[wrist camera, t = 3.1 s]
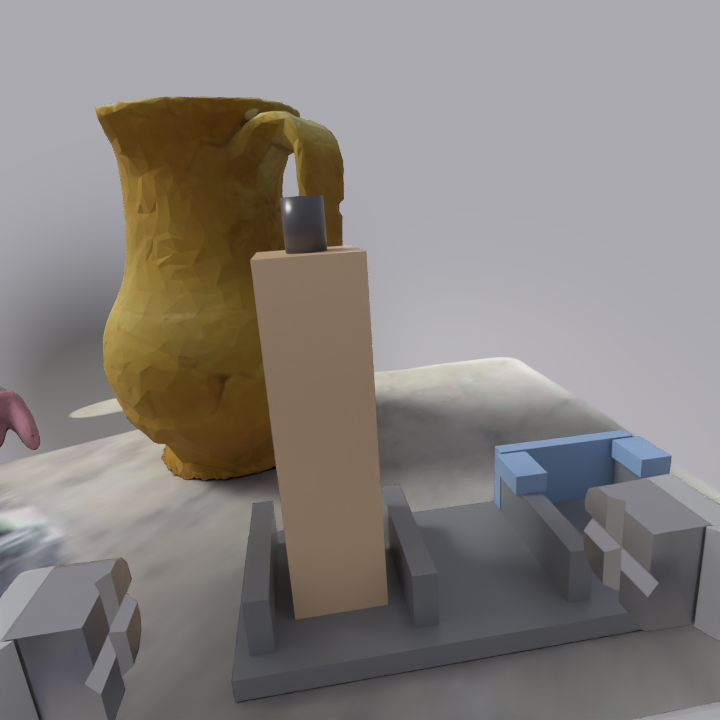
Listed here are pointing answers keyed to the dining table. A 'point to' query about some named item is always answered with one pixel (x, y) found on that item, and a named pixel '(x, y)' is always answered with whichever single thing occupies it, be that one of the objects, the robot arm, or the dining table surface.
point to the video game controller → (17, 419)
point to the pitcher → (204, 268)
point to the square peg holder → (450, 575)
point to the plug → (322, 412)
